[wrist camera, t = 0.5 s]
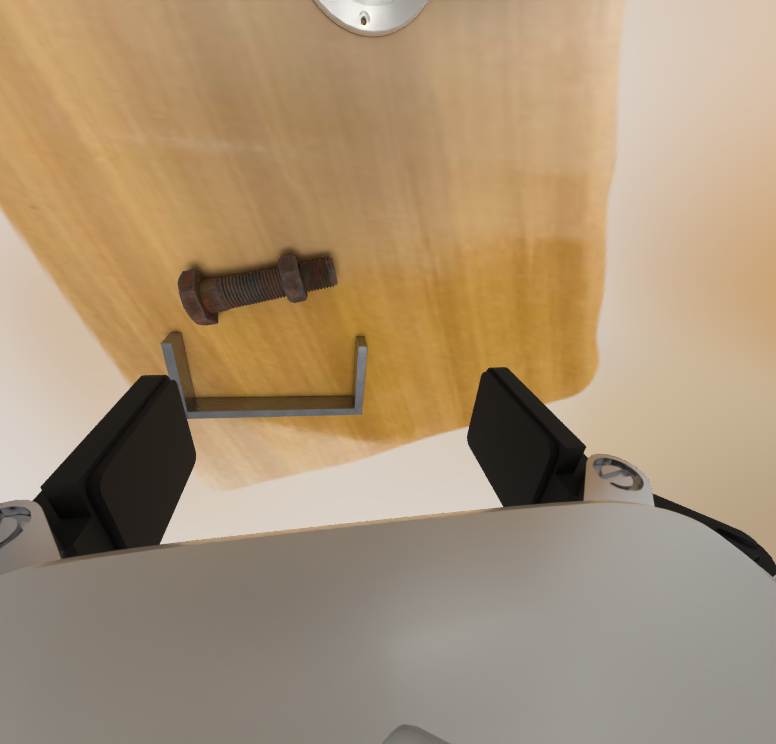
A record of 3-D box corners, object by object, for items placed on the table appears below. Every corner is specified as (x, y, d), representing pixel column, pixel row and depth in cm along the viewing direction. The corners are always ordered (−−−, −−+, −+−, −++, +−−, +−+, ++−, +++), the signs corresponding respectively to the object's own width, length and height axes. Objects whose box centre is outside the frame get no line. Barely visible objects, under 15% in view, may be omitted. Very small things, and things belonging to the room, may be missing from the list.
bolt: (334, 269, 40) (204, 296, 38) (326, 233, 35) (178, 262, 34) (343, 306, 37) (203, 337, 36) (336, 272, 33) (176, 305, 31)
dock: (171, 332, 38) (160, 343, 36) (364, 336, 43) (367, 346, 40) (188, 404, 43) (179, 418, 41) (359, 401, 47) (361, 414, 45)
